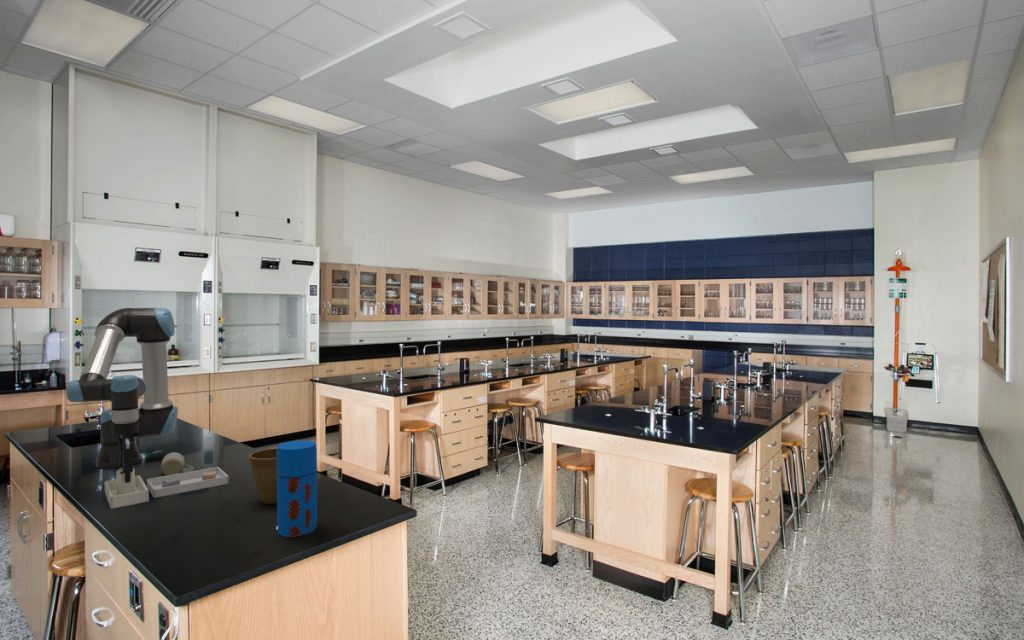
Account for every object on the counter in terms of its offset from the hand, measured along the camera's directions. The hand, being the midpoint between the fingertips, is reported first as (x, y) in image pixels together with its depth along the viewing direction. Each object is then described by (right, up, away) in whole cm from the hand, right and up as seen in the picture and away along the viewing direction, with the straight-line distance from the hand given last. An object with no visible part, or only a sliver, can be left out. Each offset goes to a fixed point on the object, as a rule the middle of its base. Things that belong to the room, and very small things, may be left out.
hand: (126, 488), depth 186 cm
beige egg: (0, -2, 0) cm, 2 cm away
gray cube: (+12, -3, +5) cm, 13 cm away
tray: (+14, -3, +12) cm, 19 cm away
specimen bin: (0, -3, 0) cm, 3 cm away
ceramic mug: (+1, -3, +27) cm, 27 cm away
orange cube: (+21, -2, +13) cm, 25 cm away
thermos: (+69, -4, -26) cm, 74 cm away
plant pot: (+51, -3, -2) cm, 51 cm away
